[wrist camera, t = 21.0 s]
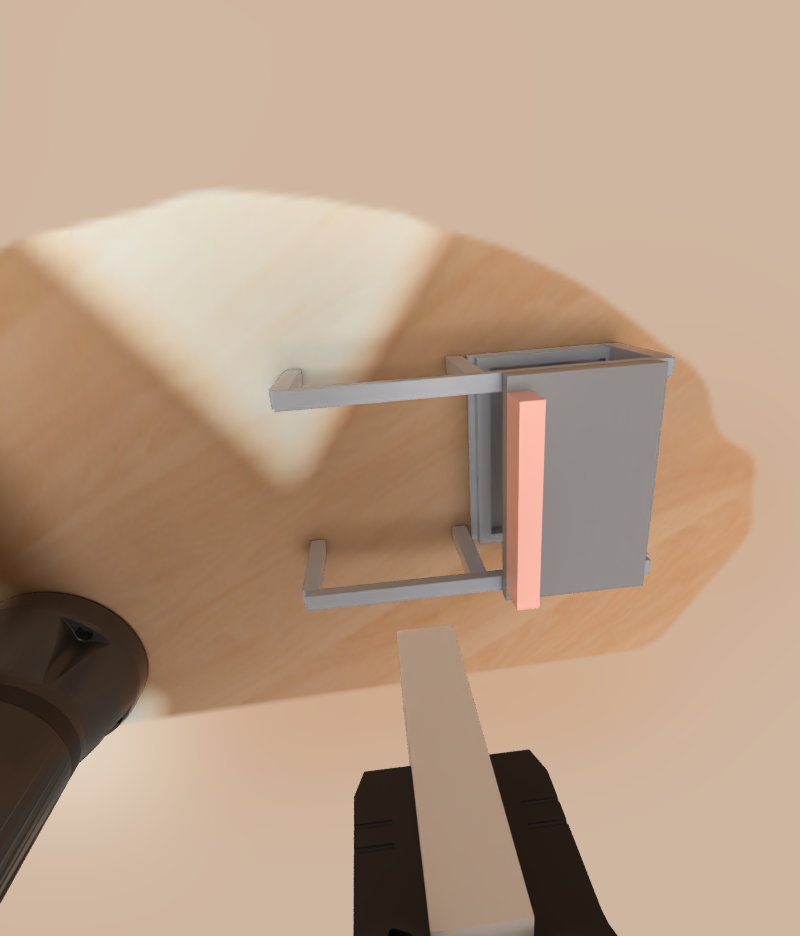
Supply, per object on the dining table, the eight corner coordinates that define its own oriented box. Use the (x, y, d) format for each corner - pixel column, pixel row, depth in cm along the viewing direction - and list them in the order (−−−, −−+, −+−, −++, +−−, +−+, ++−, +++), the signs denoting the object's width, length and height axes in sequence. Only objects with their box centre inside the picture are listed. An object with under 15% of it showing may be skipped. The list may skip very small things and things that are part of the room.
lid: (502, 592, 37) (516, 622, 33) (502, 373, 31) (519, 384, 28) (635, 577, 37) (662, 606, 34) (659, 359, 31) (694, 368, 28)
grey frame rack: (312, 552, 44) (303, 611, 36) (285, 370, 38) (266, 393, 31) (601, 522, 45) (652, 573, 37) (615, 342, 40) (679, 357, 32)
